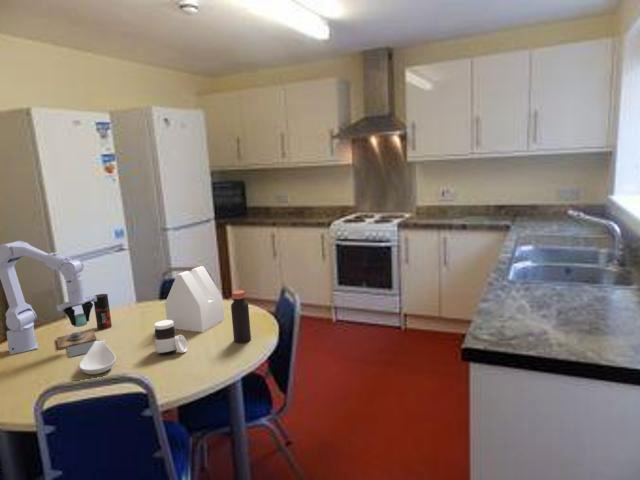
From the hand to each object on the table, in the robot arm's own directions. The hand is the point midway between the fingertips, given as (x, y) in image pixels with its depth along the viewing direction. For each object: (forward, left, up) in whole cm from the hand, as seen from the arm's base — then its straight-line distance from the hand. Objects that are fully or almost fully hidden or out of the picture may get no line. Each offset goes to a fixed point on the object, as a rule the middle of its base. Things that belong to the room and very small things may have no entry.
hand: (80, 323), depth 179 cm
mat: (0, -1, -11) cm, 11 cm away
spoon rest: (+3, -22, -11) cm, 25 cm away
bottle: (+54, -34, -11) cm, 65 cm away
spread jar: (+28, -27, -11) cm, 41 cm away
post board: (-2, +12, -11) cm, 16 cm away
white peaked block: (+45, -2, -11) cm, 47 cm away
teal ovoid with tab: (0, 0, -1) cm, 1 cm away
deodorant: (+10, +22, -11) cm, 26 cm away
